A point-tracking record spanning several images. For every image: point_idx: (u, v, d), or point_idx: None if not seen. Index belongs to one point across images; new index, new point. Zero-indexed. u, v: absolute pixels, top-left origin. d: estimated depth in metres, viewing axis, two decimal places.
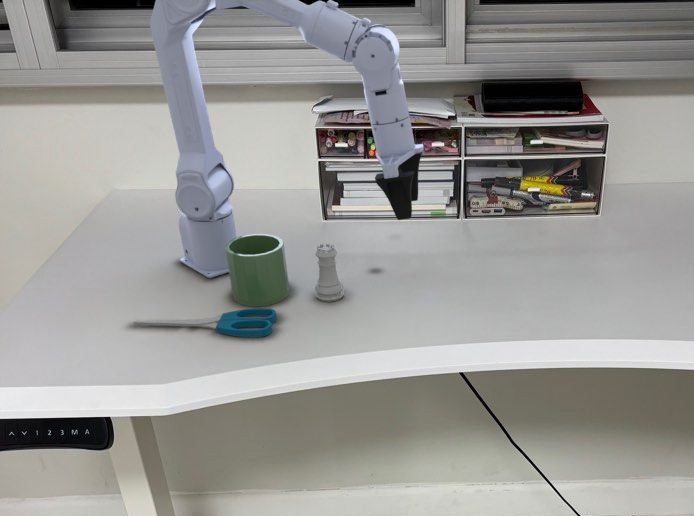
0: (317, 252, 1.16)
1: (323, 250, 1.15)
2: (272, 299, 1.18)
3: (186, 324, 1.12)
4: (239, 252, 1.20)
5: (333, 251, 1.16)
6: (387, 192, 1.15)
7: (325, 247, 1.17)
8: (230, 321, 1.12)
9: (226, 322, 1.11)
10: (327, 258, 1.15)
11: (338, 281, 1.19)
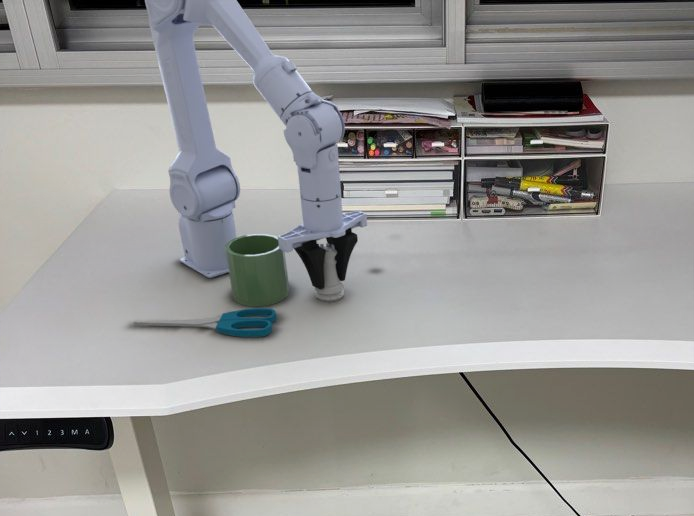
0: None
1: None
2: (272, 299, 1.18)
3: (186, 324, 1.12)
4: (239, 252, 1.20)
5: (333, 251, 1.16)
6: (301, 257, 1.15)
7: (325, 247, 1.17)
8: (230, 321, 1.12)
9: (226, 322, 1.11)
10: (327, 258, 1.15)
11: (338, 281, 1.19)
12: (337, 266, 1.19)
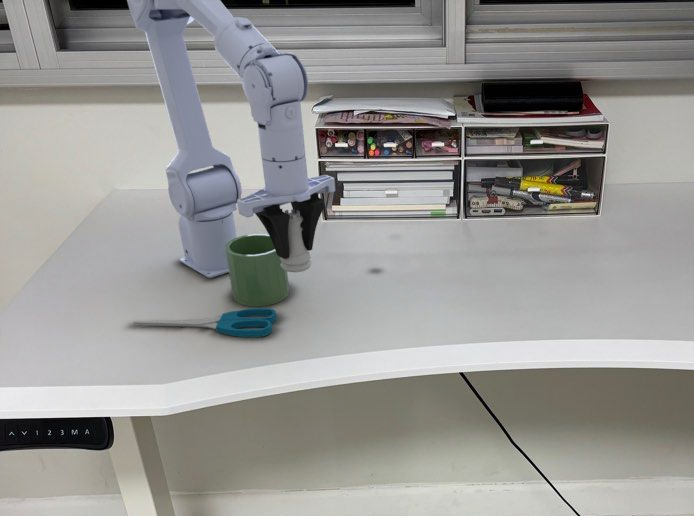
0: None
1: None
2: (272, 299, 1.18)
3: (186, 324, 1.12)
4: (239, 252, 1.20)
5: (298, 217, 1.08)
6: (264, 224, 1.08)
7: (290, 213, 1.09)
8: (230, 321, 1.12)
9: (226, 322, 1.11)
10: (292, 224, 1.08)
11: (305, 250, 1.11)
12: (303, 234, 1.11)
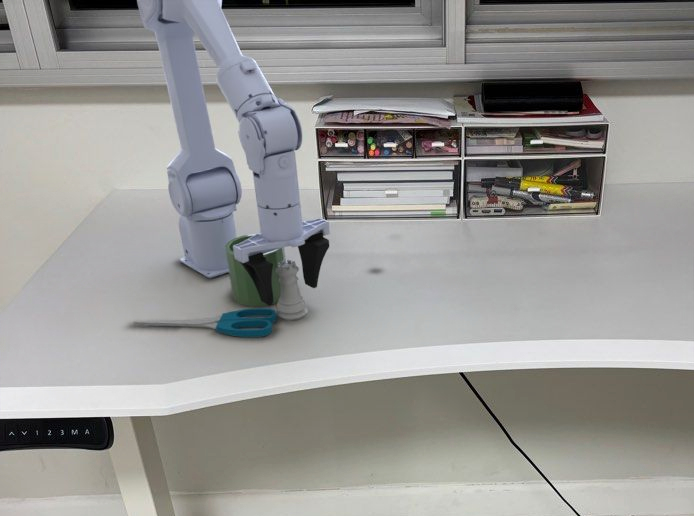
0: (278, 269, 1.11)
1: (284, 267, 1.10)
2: None
3: (186, 324, 1.12)
4: None
5: (294, 268, 1.11)
6: (248, 271, 1.09)
7: (286, 264, 1.12)
8: (230, 321, 1.12)
9: (226, 322, 1.11)
10: (288, 275, 1.11)
11: (301, 299, 1.14)
12: (308, 272, 1.15)
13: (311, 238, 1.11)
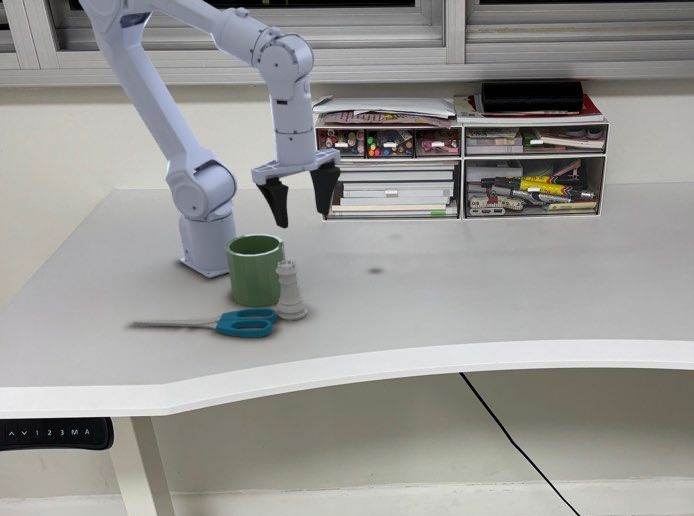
0: (277, 269, 1.11)
1: (284, 267, 1.10)
2: (272, 299, 1.18)
3: (186, 324, 1.12)
4: (239, 252, 1.20)
5: (294, 268, 1.11)
6: (264, 195, 1.16)
7: (286, 264, 1.12)
8: (230, 321, 1.12)
9: (226, 322, 1.11)
10: (288, 275, 1.10)
11: (301, 299, 1.14)
12: (321, 200, 1.22)
13: (324, 166, 1.19)
